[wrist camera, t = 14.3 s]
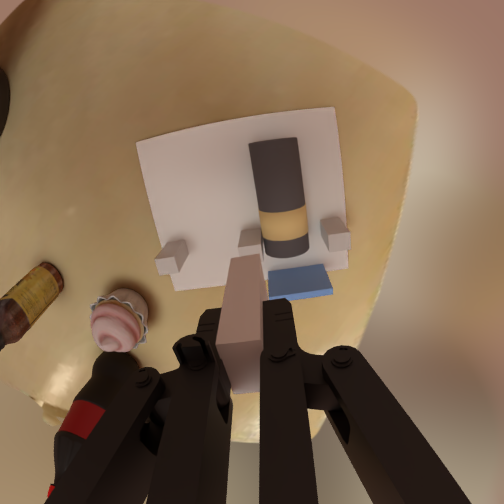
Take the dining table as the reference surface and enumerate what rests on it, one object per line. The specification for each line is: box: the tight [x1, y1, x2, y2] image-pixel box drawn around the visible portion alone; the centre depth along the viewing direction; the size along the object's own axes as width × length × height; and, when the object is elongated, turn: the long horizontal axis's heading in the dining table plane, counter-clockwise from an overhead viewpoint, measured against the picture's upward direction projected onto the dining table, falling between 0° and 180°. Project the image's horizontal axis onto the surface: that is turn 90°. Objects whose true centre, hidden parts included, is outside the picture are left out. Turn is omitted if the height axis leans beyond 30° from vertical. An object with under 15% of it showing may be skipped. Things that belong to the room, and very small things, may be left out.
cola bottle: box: [48, 351, 139, 497], centre depth 33 cm, size 8×8×30 cm
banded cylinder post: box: [248, 137, 309, 258], centre depth 31 cm, size 12×5×5 cm, turn 9°
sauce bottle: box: [0, 263, 63, 351], centre depth 31 cm, size 7×6×20 cm
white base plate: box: [136, 107, 351, 301], centre depth 32 cm, size 20×23×7 cm
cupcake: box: [90, 288, 148, 352], centre depth 37 cm, size 9×9×10 cm
